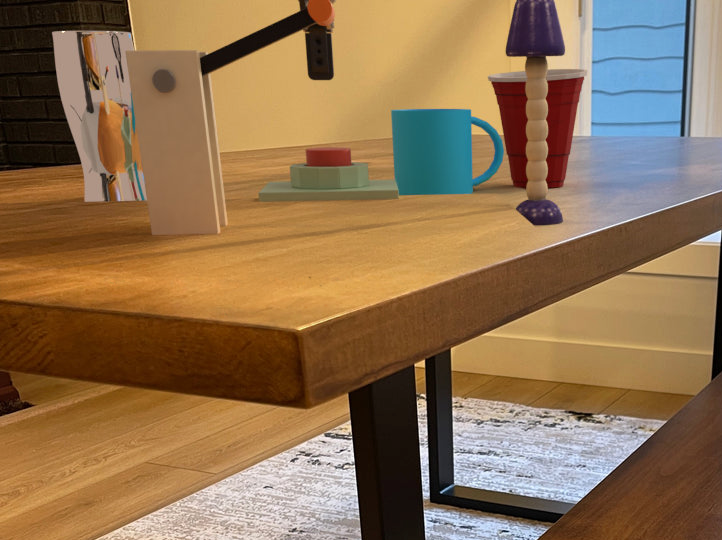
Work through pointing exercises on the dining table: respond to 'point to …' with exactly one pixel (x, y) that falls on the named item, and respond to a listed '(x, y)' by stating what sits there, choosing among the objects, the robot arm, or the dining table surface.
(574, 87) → the plastic cup
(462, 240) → the dining table surface
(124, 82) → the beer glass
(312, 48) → the robot arm
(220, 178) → the bracket
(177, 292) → the dining table surface
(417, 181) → the mug
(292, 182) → the button box
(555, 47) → the toy lamp
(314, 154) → the button
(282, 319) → the dining table surface
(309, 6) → the lever
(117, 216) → the dining table surface
